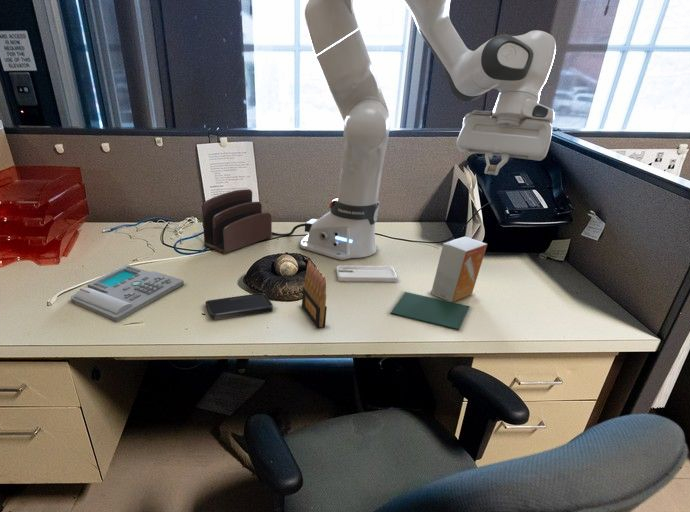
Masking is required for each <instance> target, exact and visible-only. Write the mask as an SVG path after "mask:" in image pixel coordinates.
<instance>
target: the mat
mask: <svg viewBox="0 0 690 512" xmlns="http://www.w3.org/2000/svg"><path fill="white" fill-rule="evenodd" d="M403 293H404V294H403V295H402V296H401V297H400V299H399V300H398V301H397V303H396V304H395V306H394V308H393V309H392V310H391V312H390V315H393V316H397V317H401V318H406V319H410V320H413V321H417V322H422V323H425V324H430V325H434V326H438V327H442V328H446V329H450V330H455V331H459V330H460V328H461V326H462V324H463V322H464V319H465V317H466V315H467V313H468V310H469V309H470V306H469V305H466V304H462V303H457V302H449V301H446V300H444V299H439V298H436V297H435V298H434V297H430V296H426V295H422V294H421V295H420V294H417V293H411V292H409V291H408V292H407V291H405V292H403Z"/></svg>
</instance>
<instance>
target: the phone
mask: <svg viewBox="0 0 690 512" xmlns="http://www.w3.org/2000/svg"><path fill="white" fill-rule="evenodd" d="M273 307H274V305H273V303H272V302H271V300H270V299H269V297H268V296H267V294H266V293H264V292H258V293H252V294H244V295H236V296H229V297H223V298H216V299H215V298H213V299H208V300H206V301H205V309H206V312H207V314H208V316H209V318H210V319H211V320H212V321H217V320H223V319H229V318H236V317H243V316H250V315H257V314H258V315H259V314H265V313H271V312H273V309H274V308H273Z"/></svg>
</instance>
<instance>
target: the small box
mask: <svg viewBox="0 0 690 512" xmlns="http://www.w3.org/2000/svg"><path fill="white" fill-rule="evenodd" d="M487 247H488V243H487V242H483V241H480V240H477V239H474V238H472V237H469V236H462V237H459V238H458V237H457V238H455V239H452V240H449V241H447V242H443V243H442V247H441V252H440V255H439V259H438V264H437V268H436V271H435V275H434V279H433V284H432V288H431V291H430V294H431V295H433V296H435V297H437V298H440V299H441V300H444V301H448V302H453V303H455V302H457V301H459V300H461V299H463V298H466V297H468V296H472V295H473V292H474V288H475V285H476V282H477V279H478V276H479V273H480V269H481V266H482V263H483V259H484V257H485V252H486V250H487Z"/></svg>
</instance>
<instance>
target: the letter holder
mask: <svg viewBox="0 0 690 512" xmlns="http://www.w3.org/2000/svg"><path fill="white" fill-rule="evenodd" d="M262 207H263V204H262V202H261V201H253V191H252V190H251V189H250V188H247V189H245V188H243V189H237V190H232V191H228V192H225V193H222V194H220V195H216V196H214V197H211V198H209V199H207V200H205V201H204V202H203V203H202V205H201V213H202V228H203V244H204V247H207V248H209V249H213V250H214V251H217V252H219V253H222V254H224V255H226V254H229V253H231V252H235V251H237V250H239V249H242V248H245V247H248V246H250V245H253V244H256V243H259V242H262V241H264V240H268V239H269V238H272V236H273V235H272V232H273V230H272V229H273V227H272V224H273V223H272V222H273V221H272V219H273V217H272V213H271V212H263V211H262V210H263V208H262Z"/></svg>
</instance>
